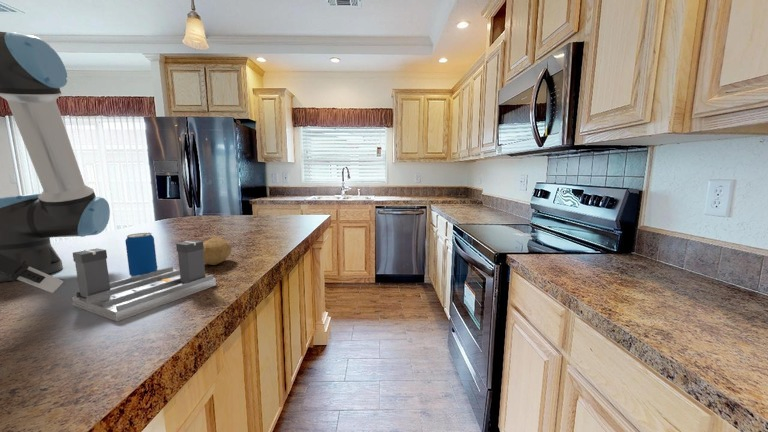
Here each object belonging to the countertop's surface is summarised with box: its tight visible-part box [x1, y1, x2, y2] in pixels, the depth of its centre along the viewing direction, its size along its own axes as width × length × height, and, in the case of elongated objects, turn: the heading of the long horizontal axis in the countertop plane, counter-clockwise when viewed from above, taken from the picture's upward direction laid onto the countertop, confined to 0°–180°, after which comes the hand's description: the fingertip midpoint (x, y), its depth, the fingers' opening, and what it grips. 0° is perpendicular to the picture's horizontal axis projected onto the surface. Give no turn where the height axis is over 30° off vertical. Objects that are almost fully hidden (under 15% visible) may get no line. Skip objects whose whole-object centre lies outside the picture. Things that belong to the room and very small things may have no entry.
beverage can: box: [124, 232, 158, 277], centre depth 89 cm, size 6×6×12 cm
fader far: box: [175, 239, 206, 283], centre depth 78 cm, size 4×4×10 cm
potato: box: [203, 237, 232, 266], centre depth 100 cm, size 10×14×8 cm
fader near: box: [72, 247, 111, 297], centre depth 70 cm, size 4×4×10 cm
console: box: [71, 266, 217, 322], centre depth 75 cm, size 18×22×3 cm
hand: (56, 286), depth 65 cm, fingers closed
